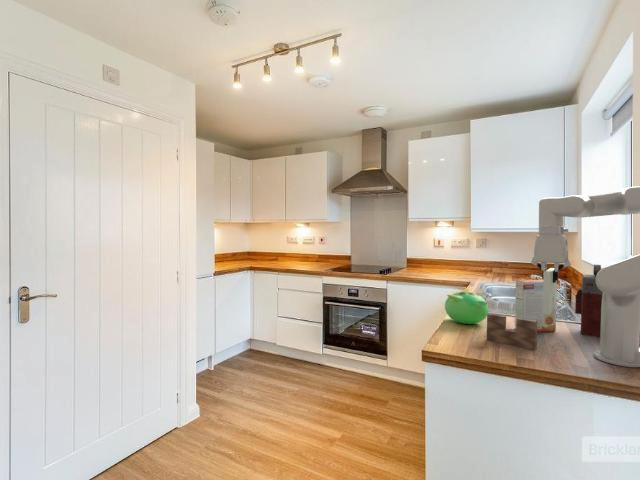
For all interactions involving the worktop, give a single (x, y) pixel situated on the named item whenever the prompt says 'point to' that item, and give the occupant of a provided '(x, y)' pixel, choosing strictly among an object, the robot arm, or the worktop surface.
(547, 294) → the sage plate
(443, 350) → the worktop surface
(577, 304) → the dark red canister
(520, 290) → the cracker box
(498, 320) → the walnut board
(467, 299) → the toy bird
